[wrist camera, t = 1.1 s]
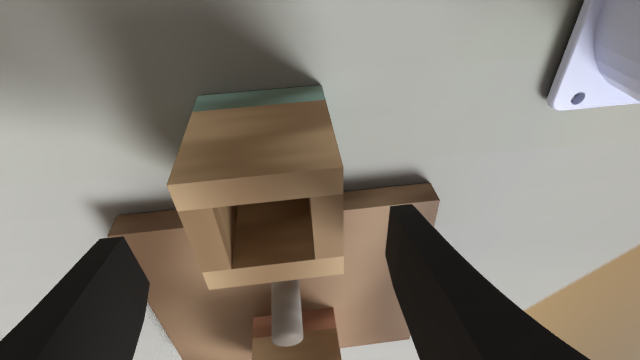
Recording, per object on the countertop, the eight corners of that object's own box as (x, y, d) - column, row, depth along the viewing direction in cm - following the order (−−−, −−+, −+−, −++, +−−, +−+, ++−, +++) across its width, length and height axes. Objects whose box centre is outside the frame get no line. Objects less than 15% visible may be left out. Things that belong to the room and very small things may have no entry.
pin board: (429, 182, 17) (481, 276, 13) (403, 321, 24) (430, 408, 20) (117, 215, 16) (64, 327, 12) (190, 348, 23) (174, 444, 19)
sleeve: (321, 85, 13) (343, 166, 9) (325, 179, 16) (343, 274, 12) (197, 95, 13) (166, 184, 9) (224, 190, 16) (209, 289, 12)
